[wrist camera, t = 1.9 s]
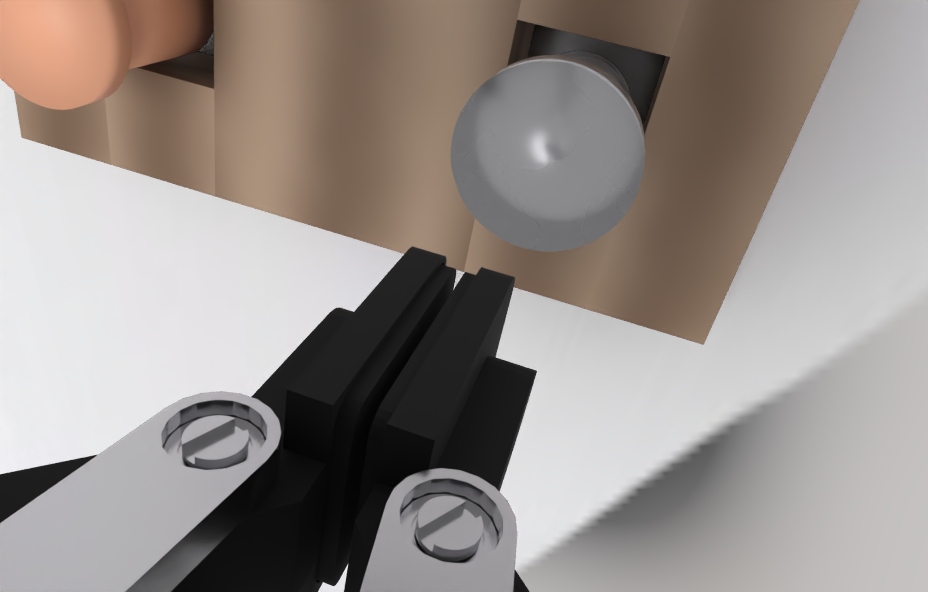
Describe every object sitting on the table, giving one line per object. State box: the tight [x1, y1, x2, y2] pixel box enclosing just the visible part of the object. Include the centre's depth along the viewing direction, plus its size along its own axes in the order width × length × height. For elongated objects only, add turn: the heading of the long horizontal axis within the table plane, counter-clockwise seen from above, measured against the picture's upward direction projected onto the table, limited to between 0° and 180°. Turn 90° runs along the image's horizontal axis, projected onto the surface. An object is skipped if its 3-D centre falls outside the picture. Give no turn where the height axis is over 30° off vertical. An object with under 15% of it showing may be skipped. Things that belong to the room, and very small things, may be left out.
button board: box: [14, 0, 859, 345], centre depth 26 cm, size 30×14×4 cm, turn 79°
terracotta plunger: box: [0, 0, 214, 110], centre depth 23 cm, size 5×5×6 cm
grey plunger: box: [451, 51, 646, 252], centre depth 21 cm, size 5×5×6 cm
